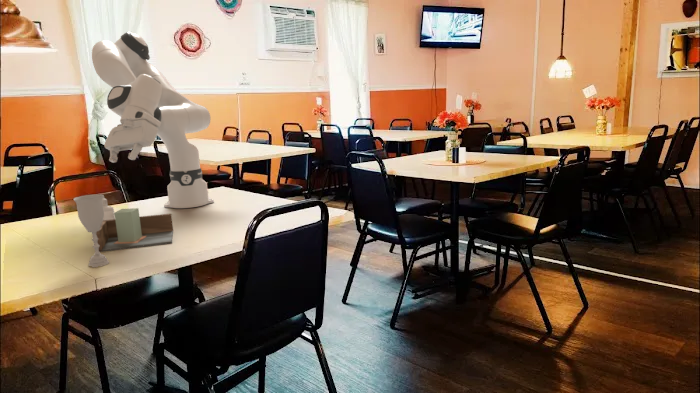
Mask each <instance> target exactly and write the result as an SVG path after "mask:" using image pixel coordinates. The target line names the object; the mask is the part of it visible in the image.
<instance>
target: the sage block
mask: <svg viewBox="0 0 700 393" xmlns="http://www.w3.org/2000/svg"><path fill="white" fill-rule="evenodd" d="M114 214H115V221H116V228H117V235H118V242H135V241H137V240H138V239H140V238H141V237H142V232H141V225H140V217H141V216H140V212H139V208H138V207H137V208H135V207H133V208H121V209H119V210H117V211H114Z"/></svg>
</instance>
